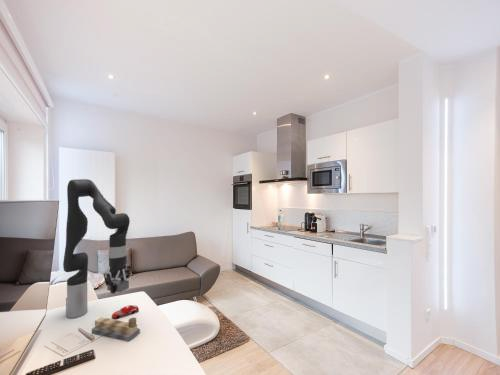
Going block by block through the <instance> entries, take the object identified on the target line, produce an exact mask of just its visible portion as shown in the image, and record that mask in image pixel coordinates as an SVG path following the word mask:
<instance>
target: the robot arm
mask: <svg viewBox="0 0 500 375" xmlns="http://www.w3.org/2000/svg"><path fill="white" fill-rule="evenodd" d="M66 188H67V190H66V191H67V192H66V194H67V195H66V196H67V218H66V227H65V228H66V231H65V248H64V256H63V264H62V265H63V267H62V268H63V271H64V273H65V272H66V273H72V272H76V271H77V272H76V273H75V274H74V275H72V276H70V277H68V279H67V280H66V298H65V316H66V317H67V318H68V319H75V318H76V319H77V318H79V317H82V316H84V315H86V314H87V313H88V275H89V274H88V271H89V270H88V268H89V267H88V266H89V256H88V253H86V252H77V253H74V251H75V250H76V248H77V246H78V245H79V243H80V242H81V241H82V240H83V238H84V237H85V236H86V234H87V232H88V218H87V215H86V214H85V213H84V212H83V211H82V209H81V207H80V203H79V201H80V200H79V198H84V197H90V198H91V199H92V207H93V210H94V211H95V212H96V213H97V214H98V215H99V216H100V218H101V219H102V221H103V223H104V226H105V227H106V228H107V229H110V230H115V229H116V231H115V232H114V233H112V234H110V235H109V237H108V238H109V240H108V242H109V244H108V245H109V249H108V266H109V270H108V271H107V272H105V273H103V277H104V283H105V285H106V286H107V285H108V286H110V291H109V292H110V294H116V286H115V284H116V281H117V279H119V278H120V279H119V280H126V281H128V279H129V278H130V275H131V270H132V265H127V263H128V262H127V261H128V260H127V259H128V256H127V251H128V250H127V234H128V230H129V227H130V217H129V215H128V214H127V213H123V212H121V213H116V212H117V210H116V207H114V206H113V205H112V204H111V203H110V202H109V200H108V199H106V198H105V197H104V195H103V194H102V193H101V191H100V189H99V188H98V187H97V185H96V184H95V183H94V181H92V180H91V179H86V178H81V179H71V180H69V181H68V184H67V187H66Z"/></svg>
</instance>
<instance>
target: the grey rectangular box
mask: <svg viewBox="0 0 500 375" xmlns="http://www.w3.org/2000/svg"><path fill="white" fill-rule="evenodd" d="M115 286H116V292H117V293H122V292H123V291H125V290H128V289H129V288H130V281H129V280H121V279H119V278H118V279H117V281H116V284H115ZM106 287H107V288H106V289H107V291H109V292H110V286H108V285H106Z"/></svg>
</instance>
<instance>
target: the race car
mask: <svg viewBox="0 0 500 375" xmlns="http://www.w3.org/2000/svg"><path fill="white" fill-rule="evenodd" d="M139 309H140V308H139V306H138V305H137V304H133V305H132V304H130V305H126V306H123V307H121V308H120V309H119V310H117V311H115V312H113V313H112V315H111V318H112V319H113V320H119V319H120V318H121V319H122V318H125V317H127V316H130V315H134V314H136V313H138V312H139Z"/></svg>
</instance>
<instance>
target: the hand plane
mask: <svg viewBox="0 0 500 375" xmlns="http://www.w3.org/2000/svg"><path fill="white" fill-rule="evenodd" d="M91 334H94V335H97V336H102V337H106V338H111V339H115V340H119V341H123V342H130V341H131V340H133V339H134V338H135V337H136V336H138V335H139V334H141V328H139V327H138V324H137V317H131V318H129V319H128V321H123V320H119V319H113V318H112V319H111V318H107V317H99V318H98V319H95V320H94V327H93V328H91Z"/></svg>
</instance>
